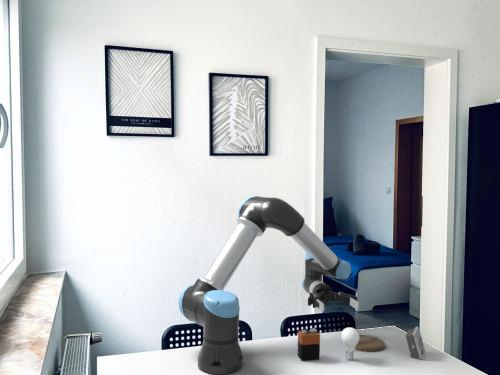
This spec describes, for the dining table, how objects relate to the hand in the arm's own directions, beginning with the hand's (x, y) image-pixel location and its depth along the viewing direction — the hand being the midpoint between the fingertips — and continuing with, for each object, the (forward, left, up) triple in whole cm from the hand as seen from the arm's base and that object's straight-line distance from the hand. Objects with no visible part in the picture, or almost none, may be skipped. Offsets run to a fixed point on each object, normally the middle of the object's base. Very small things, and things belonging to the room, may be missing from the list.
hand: (340, 307), depth 157 cm
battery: (0, -16, -15) cm, 22 cm away
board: (+3, +11, -15) cm, 19 cm away
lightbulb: (+9, -5, -15) cm, 18 cm away
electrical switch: (+20, +18, -16) cm, 31 cm away
